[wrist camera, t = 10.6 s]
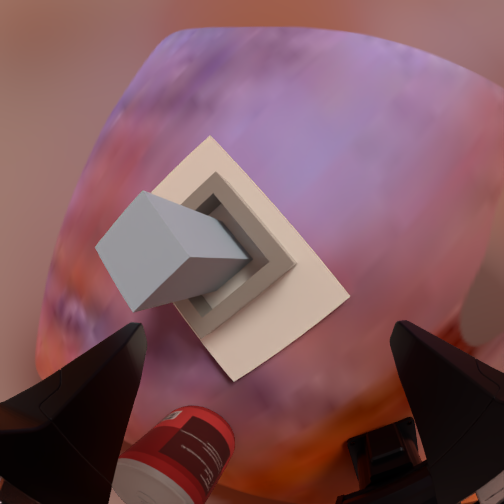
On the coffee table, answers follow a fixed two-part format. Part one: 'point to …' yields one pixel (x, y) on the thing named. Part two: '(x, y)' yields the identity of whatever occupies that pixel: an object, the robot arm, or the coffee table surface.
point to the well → (250, 266)
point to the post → (168, 253)
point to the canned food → (176, 459)
